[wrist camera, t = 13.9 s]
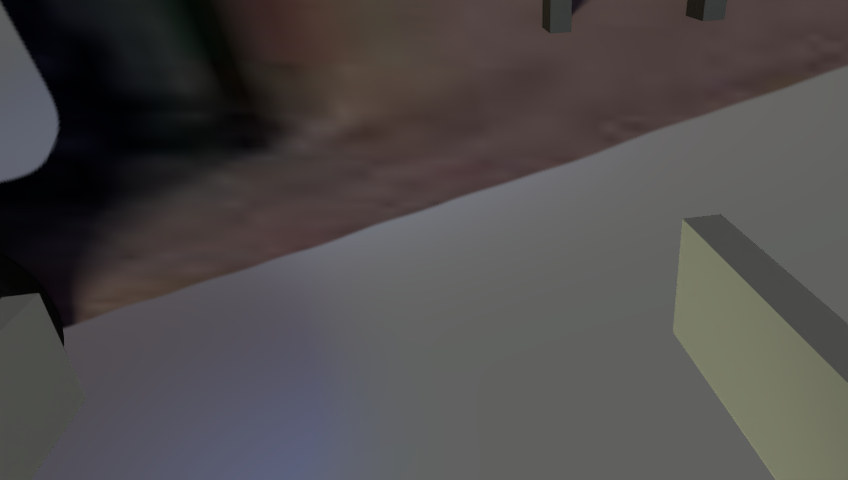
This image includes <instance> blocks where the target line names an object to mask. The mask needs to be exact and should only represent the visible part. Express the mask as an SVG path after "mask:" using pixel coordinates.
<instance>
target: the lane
mask: <svg viewBox="0 0 848 480" xmlns="http://www.w3.org/2000/svg"><path fill="white" fill-rule="evenodd" d="M726 1H727V0H688V2H687V11H686V16H689V17H692V18H695V19H698V20H701V21H709V20H722V19H724V16H725V9H726ZM571 16H572V0H543V23H542V27H543V28H544V29H545V30H546V31H548V32H549V33H562V32H571Z"/></svg>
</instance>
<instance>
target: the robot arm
mask: <svg viewBox="0 0 848 480" xmlns="http://www.w3.org/2000/svg"><path fill="white" fill-rule="evenodd" d="M673 333H674V334H675V335H676V337H677V338H678V340H679V341H680V343H681V344H682V346H683V347H684V348H685V350H686V351H687V353H688V354H689V356H690V357H691V359H692V360H693V361H694V363H695V364H696V366H697V367H698V369H699V370H700V372H701V373H702V374H703V376H704V377H705V379H706V380H707V381H708V383H709V385H710V386H711V387H712V389H713V390H714V392H715V393H716V394H717V396H718V397H719V399H720V400H721V402H722V403H723V405H724V406H725V407H726V409H727V410H728V412H729V413H730V415H731V416H732V418H733V419H734V421H735V422H736V423H737V425H738V426H739V428H740V429H741V431H742V432H743V434H744V435H745V436H746V438H747V439H748V441H749V442H750V444H751V445H752V446H753V448H754V449H755V451H756V452H757V453H758V455H759V457H760V458H761V459H762V461H763V462H764V464H765V465H766V467H767V468H768V470H769V471H770V472H771V474H772V475H773V477H774V478H775V479H776V480H848V324H847V323H846V322H845V321H844V320H843V319H841V318H840V317H839V316H838V315H837V314H836V313H835V312H833V311H832V310H831V309H830V308H829V307H828V306H826V305H825V304H824V303H823V302H822V301H821V300H820V299H818V298H817V297H816V296H815V295H814V294H812V293H811V292H810V291H809V290H808V289H807V288H805V287H804V286H803V285H802V284H801V283H800V282H799V281H797V280H796V279H795V278H794V277H793V276H792V275H791V274H789V273H788V272H787V271H786V270H785V269H783V268H782V267H781V266H780V265H779V264H778V263H776V262H775V261H774V260H773V259H772V258H771V257H770V256H769V255H767V254H766V253H765V252H764V251H763V250H762V249H760V248H759V247H758V246H757V245H756V244H755V243H753V242H752V241H751V240H750V239H749V238H748V237H747V236H745V235H744V234H743V233H742V232H741V231H739V230H738V229H737V228H736V227H735V226H734V225H733V224H731V223H730V222H729V221H728V220H727V219H726V218H724V217H723V216H722V215H721V214H720V215H711V216H702V217H694V218H685V219H683V222H682V232H681V244H680V256H679V268H678V280H677V292H676V304H675V315H674V326H673ZM85 399H86V395H85V393H84V391H83V389H82V387H81V384H80V382H79V380H78V378H77V376H76V373H75V371H74V369H73V367H72V365H71V362H70V360H69V358H68V356H67V354H66V351H65V349H64V335H63V329H62V325H61V321H60V319H59V316H58V314H57V311H56V309H55V307H54V305H53V304H52V302H51V300H50V299H49V297H48V296H47V294H46V293H45V292H44V290H43V289H42V288H41V287H40V286H39V284H38V283H37V282H36V281H35V280H34V279H33V278H32V277H31V276H30V275H29V274H27V273H26V272H25V271H24V270H23V269H22V268H20V267H19V266H18V265H16V264H15V263H14V262H12V261H11V260H9V259H8V258H6V257H4V256H3V255H1V254H0V480H32V478H33V477H34V475H35V474H36V472H37V471H38V469H39V468H40V466H41V465H42V463H43V461H44V460H45V459H46V457H47V456H48V454H49V453H50V451H51V450H52V448H53V447H54V445H55V444H56V443H57V441H58V440H59V438H60V437H61V435H62V434H63V432H64V431H65V429H66V428H67V426H68V425H69V423H70V422H71V420H72V419H73V417H74V416H75V414H76V413H77V411H78V410H79V408H80V407H81V405H82V404H83V403H84V401H85Z"/></svg>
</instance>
